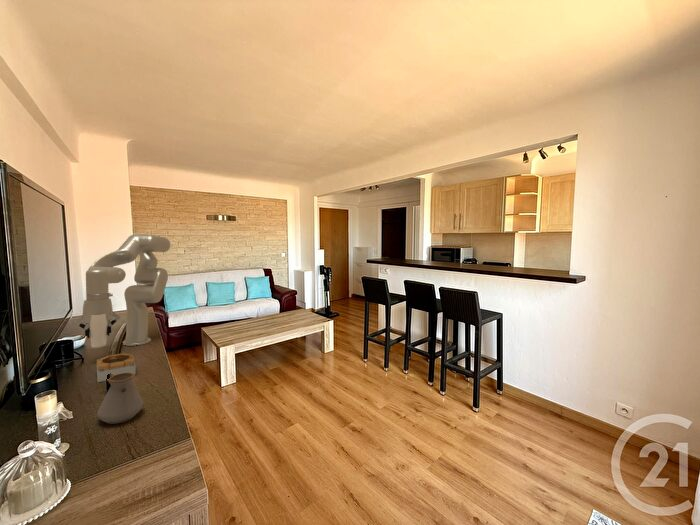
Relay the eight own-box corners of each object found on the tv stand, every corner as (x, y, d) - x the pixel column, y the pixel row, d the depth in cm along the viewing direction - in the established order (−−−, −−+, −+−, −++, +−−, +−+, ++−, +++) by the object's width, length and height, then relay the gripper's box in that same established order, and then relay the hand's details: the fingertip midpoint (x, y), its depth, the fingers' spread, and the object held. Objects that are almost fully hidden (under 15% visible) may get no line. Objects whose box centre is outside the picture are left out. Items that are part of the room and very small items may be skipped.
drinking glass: (87, 345, 131) (87, 312, 129) (107, 342, 136) (106, 310, 134) (89, 349, 126) (89, 316, 125) (109, 346, 131) (109, 313, 130)
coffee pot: (97, 414, 92) (98, 368, 92) (141, 403, 100) (142, 360, 99) (95, 451, 76) (95, 395, 75) (148, 435, 83) (149, 384, 83)
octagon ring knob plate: (96, 368, 125) (96, 356, 125) (131, 362, 133) (131, 350, 133) (97, 382, 113) (97, 368, 113) (135, 374, 121) (135, 361, 121)
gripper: (121, 293, 137) (122, 330, 139) (71, 297, 126) (72, 337, 127) (122, 296, 132) (123, 335, 133) (70, 300, 120) (71, 342, 122)
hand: (98, 335), depth 130 cm, fingers closed on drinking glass, 6 cm apart
